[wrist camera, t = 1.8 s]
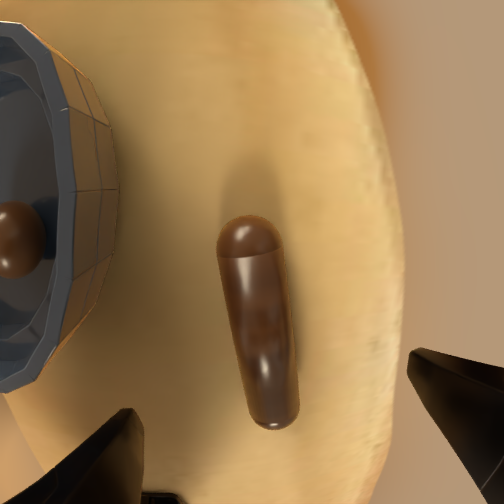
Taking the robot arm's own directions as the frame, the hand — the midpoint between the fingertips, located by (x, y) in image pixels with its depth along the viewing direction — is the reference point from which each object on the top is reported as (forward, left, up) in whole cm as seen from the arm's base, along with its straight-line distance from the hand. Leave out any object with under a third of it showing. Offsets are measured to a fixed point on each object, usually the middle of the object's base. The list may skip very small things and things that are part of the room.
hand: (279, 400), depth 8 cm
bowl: (+8, +12, -5) cm, 15 cm away
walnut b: (+6, +9, -4) cm, 12 cm away
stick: (0, 0, -5) cm, 5 cm away
